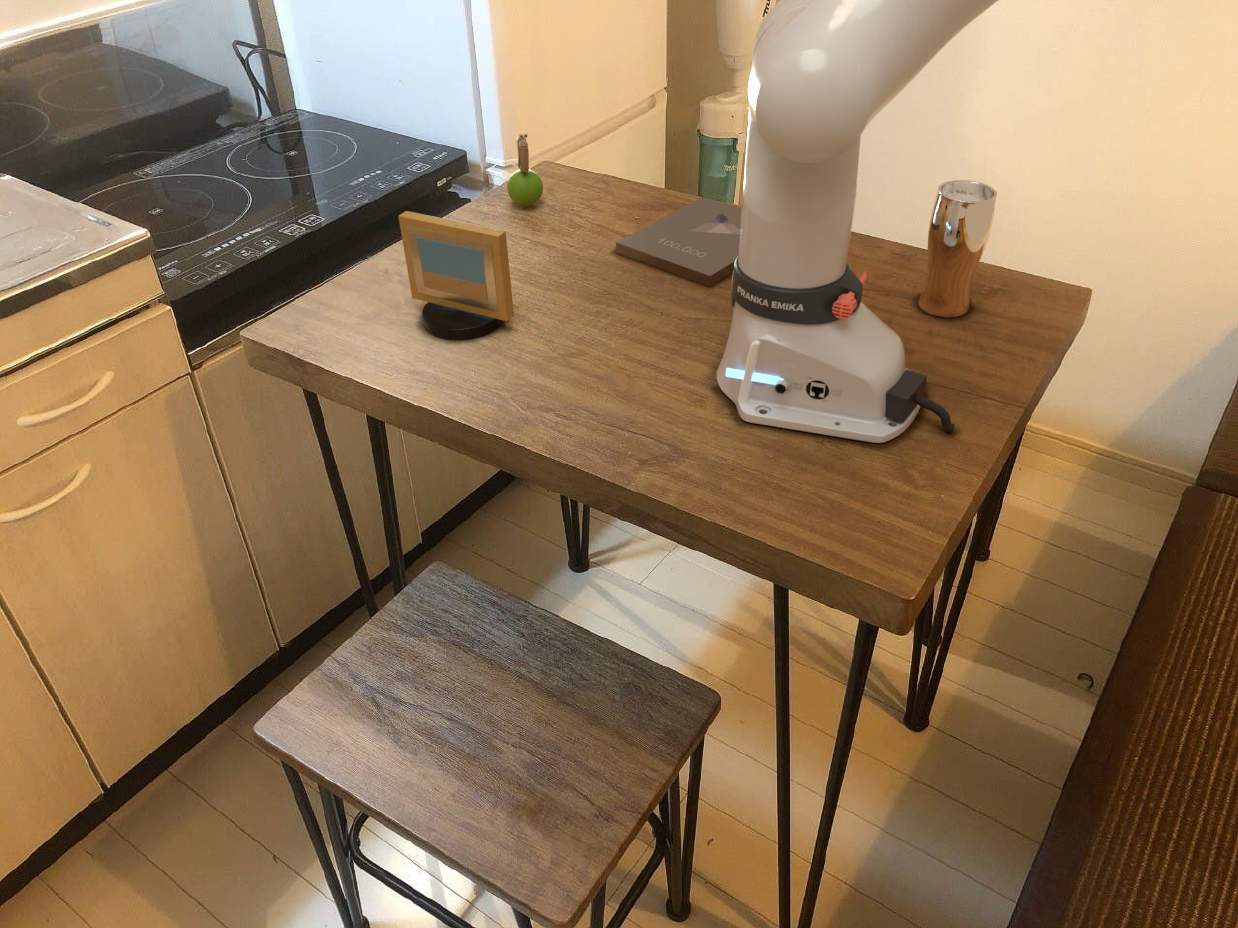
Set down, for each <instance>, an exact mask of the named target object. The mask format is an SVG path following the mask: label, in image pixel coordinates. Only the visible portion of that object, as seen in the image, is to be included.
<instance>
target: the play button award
mask: <svg viewBox="0 0 1238 928" xmlns="http://www.w3.org/2000/svg"><path fill="white" fill-rule="evenodd" d="M741 211H742V208H740V207H736V206H733V205H730V204H727V203H725V202H720V201H718V200H714V199H710V198H707V197H704V196H701V197H699V198H698V199H696V200H693V201H692V202H690V203H688V204H686V205H684V206H682V207H681V208H679V209H677V210H675V211H672V212H671V213H669V214H667V215H665V216H663V217H662V218H659V219H658V220H655V221H653V222H651V223H650V224H648V225H646V226H644V227H642V228H640V229H639V230H637V231H635V232H633V233H631V234H629V235H627V236H625V237H623V238H621V239H619V240H618V241H615V253H616V254H619V255H621V256H623V257H627V258H629V259H632V260H635V261H637V262H640V263H643V264H645V265H649V266H651V267H654V268H657V269H660V270H663V271H665V272H667V273H668V272H669V273H670V274H673V275H676V276H678V277H681V278H684V279H688V280H690V281H692V282H695V283H699V284H701V285H704V286H707V287H712V286H713V285H715V284H717V283H718V282H720V281H722V280H723V279H725V278H727V277H729V276H730V275H731V274H733V270H734V263H735V259H736V258H737V257H739V243H740V227H741Z"/></svg>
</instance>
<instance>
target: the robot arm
mask: <svg viewBox="0 0 1238 928" xmlns="http://www.w3.org/2000/svg"><path fill="white" fill-rule="evenodd" d="M998 1H999V0H779V1H778V2H777V3H776V4H774V5H773V7H771V8H770V9H769V11H768V12H767V14H766V15H765V16H764V18H763V19H762V21H761V23H760V24H759V26H758V29H757V31H756V34H755V38H754V40H753V49H752V53H751V55H752V56H751V60H750V70H749V79H748V85H747V103H748V104H747V105H748V108H749V109H748V118H747V131H746V132H747V134H746V144H745V145H746V146H745V160H744V169H743V170H744V172H743V181H742V182H743V183H742V194H741V195H742V197H741V209H742V211H741V227H740V243H739V257H737V258H736V259H735V263H734V270H733V273H732V276H731V286H730V287H731V288H730V289H731V290H730V292H731V307H732V308H733V310H732V317H731V323H730V328H729V333H728V337H727V340H726V345H725V348H724V352H723V355H722V356H721V357H722V358H721V360H720V362H719V364H718V367H717V370H716V376H715V377H716V383H717V385H718V387H719V388H720V391H722V393H723V394H724V395H725V396H726V397H727V398H728V399H730V401H732V402H733V403H734V404H735V407H736V410H737V413H738V416H739V417H740V418H741V419H742V420H743V421H744V422H747V423H751V424H758V425H762V426H767V427H768V426H770V427H773V428H774V427H775V428H782V429H787V430H793V431H799V432H806V433H812V434H818V435H824V436H830V437H837V438H843V439H849V440H854V441H861V442H867V443H875V444H883V443H886V442H889V441H891V440H893V439H895V438H897V437H899V436H900V435H901V434H902V433H904V432H905V431H906V430H907V429H908V428H909V427H910V425H911V424H912V423H913V422H914V420H915V418H916V417H917V416H918V413H919V412H920V411H919V410H920V408H924V409H926V410H928V411H930V412H932V413H934V414H935V415H936V416H937V417H938V418H940V424H941V426H942V428H943V430H944V431H946V432H947V433H953V431H954V429H955V425H956V424H955V423H952V419H951V415H950V414H949V412H948V411H947V410H946V409H945V408H944V407H943V406H941V405H940V404H938V403H937V402H935V401H933V400H931V399H928V398H926V397H925V396H924V393H925V388H926V384H927V378H928V375H925V374H923V373H921V372H920V373H919V372H916V371H913V370H911V369H908V368H906V352H905V347H904V343H903V341H902V339H901V337H900V335H899V334H898V333H896V332H895V330H893V329H892V328H891V327H890V326H888V325H887V324H886V323H885V322H884V321H883V320H882V319H881V318H879V316H878V315H876V314H875V313H874V312H873V311H872V310H871V309H870V308H868V306H866V304H864V303H863V302H862V299H863V297H862V296H863V289H864V287H865V285H866V280H867V273H868V272H867V271H866V270H865V271H863V272H862V273H861V275H860V276H859V277H857V275H856V274H855V273H854V271H853V270H852V269H851V267H850V265H849V263H848V256H849V249H850V241H851V236H852V235H851V234H852V229H853V220H854V213H855V205H856V199H857V191H858V190H857V188H858V187H857V186H858V173H859V172H858V171H859V162H860V161H859V160H860V148H861V139H862V134H863V132H865V129H866V128H867V127H868V126H869V125H870V123H871V122H872V121H873V120H874V118H875V117H876V116H877V115H878V114H879V113H881V112H882V111H883V110H884V109H885V108H886V107H887V106H888V105H889V104H891V102H892V101H893V100H894V99H895V98H896V97H897V96H898V95H900V93H901V92H903V90H904V89H905V88H906V87H907V86H908V85H909V84H910V83H911V82H912V81H913V80H914V79H915V78H916V77H917V76H918V75H919V74H920V73H921V72H922V71H923V70H924V68H925V67H927V65H928V64H929V63H930V62H932V60H933V59H934V58H935V57H936V56H937V55H938V54H939V53H940V51H942V50H943V48H945V47H946V45H948V44H949V43H950V42H951V41H952V40H953V39H954V38H955V37H956V36H957V35H958V34H959V33H960V32H962V31H963V30H964V29H965V28H966V27H968V26H969V25H970V24H971V23H973V21H975V20H976V19H977V18H978V17H980V16H981V15H982V14H983V13H985V12H986V11H987V10H988V9H991V7H992V6H993V5H995V4H996V3H997V2H998Z"/></svg>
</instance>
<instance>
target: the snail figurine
mask: <svg viewBox="0 0 1238 928" xmlns="http://www.w3.org/2000/svg"><path fill="white" fill-rule="evenodd" d="M527 138H528V133H524V134H522V133H520V134H518V136H517V137H516V147H517V154H518V155H517V160H518V161H517V167H518V169H517V170H515V171H513V172H512V173H511V175H510V176H509V177H508V180H507V183H506V189H507V193H508V196H509V198H510V199H511V201H513V203H515V204H517V205H519V206H522V207H529V206H532V205H535V204H537V202H538V201H539V200H540V199H541V197H542V195H543V192H544V183H543V180H542V178H541V176H540V175H539V174H538V173H537V172H536V171H534V170H532V169H530V157H529V156H530V152H529V144H528V142H527Z"/></svg>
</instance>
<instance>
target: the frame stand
mask: <svg viewBox="0 0 1238 928" xmlns="http://www.w3.org/2000/svg"><path fill="white" fill-rule="evenodd" d="M421 316H422V324H423V327H424V329H425V330H426V331H427V332H428V333H429V334H431V335H432V336H434V337H437V338H440V339H445V340H451V341H464V340H472V339H477V338H481V337H484V336H486V335H488V334H490V333H493V332H494V331H496V330H497V329H498V328H500V326H501V325H502V324H503V322H504V320H500V319H496V318H491V317H487V316H483V315H479V314H475V313H471V312H467V311H463V310H458V309H454V308H450V307H446V306H442V305H438V304H434V303H430V302H426V304H425V305H424V306H423V308H422V311H421Z"/></svg>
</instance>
